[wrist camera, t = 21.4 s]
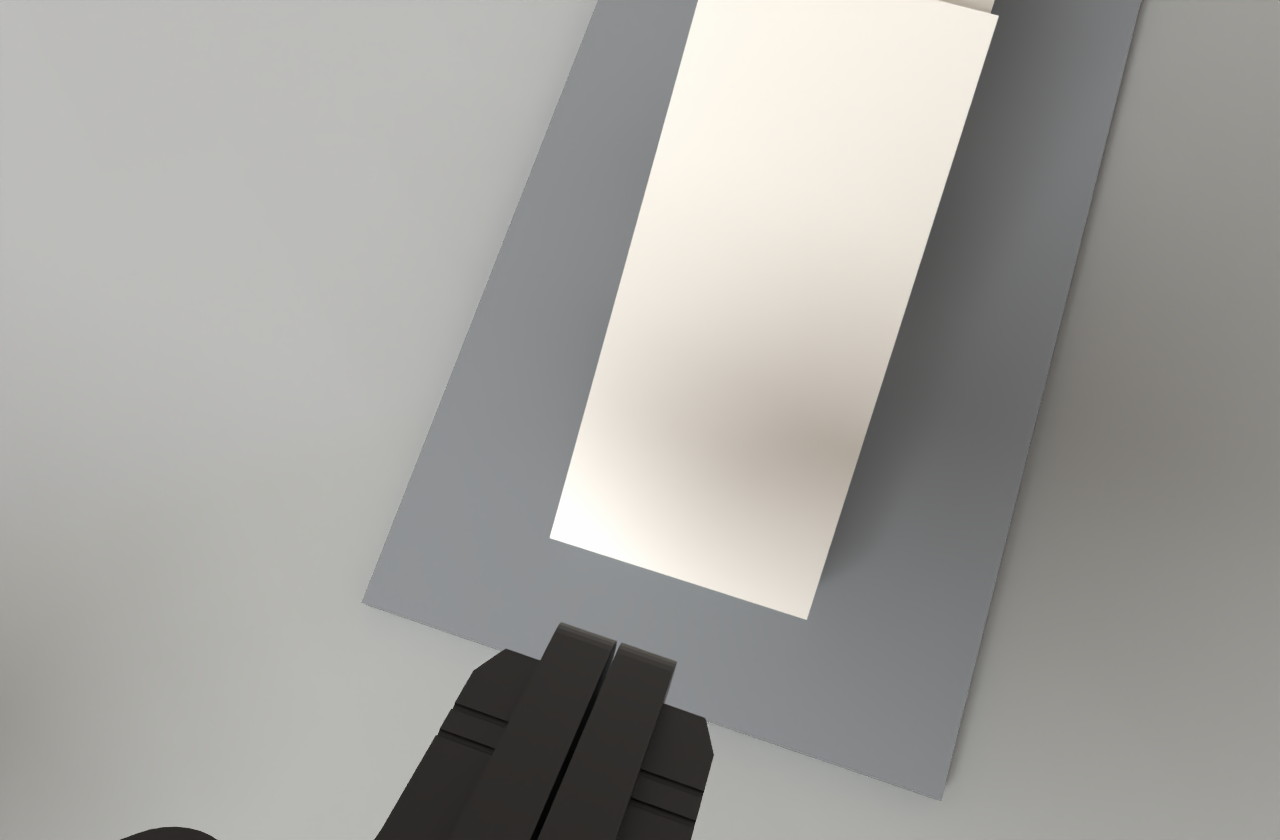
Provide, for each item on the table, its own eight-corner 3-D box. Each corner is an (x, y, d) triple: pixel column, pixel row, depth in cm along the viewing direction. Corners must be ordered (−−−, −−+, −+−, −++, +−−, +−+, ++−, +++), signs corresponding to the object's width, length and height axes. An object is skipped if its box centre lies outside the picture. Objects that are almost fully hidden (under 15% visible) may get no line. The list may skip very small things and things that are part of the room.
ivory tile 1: (807, 619, 21) (998, 15, 19) (549, 537, 21) (713, -57, 19) (807, 590, 23) (980, 41, 21) (571, 516, 23) (722, -25, 21)
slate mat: (935, 799, 22) (941, 800, 21) (368, 605, 23) (361, 603, 23) (1195, -236, 28) (1204, -252, 28) (737, -340, 30) (738, -358, 29)
